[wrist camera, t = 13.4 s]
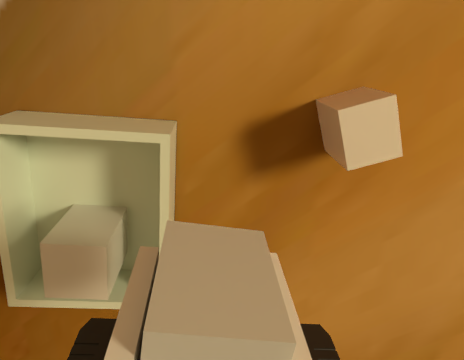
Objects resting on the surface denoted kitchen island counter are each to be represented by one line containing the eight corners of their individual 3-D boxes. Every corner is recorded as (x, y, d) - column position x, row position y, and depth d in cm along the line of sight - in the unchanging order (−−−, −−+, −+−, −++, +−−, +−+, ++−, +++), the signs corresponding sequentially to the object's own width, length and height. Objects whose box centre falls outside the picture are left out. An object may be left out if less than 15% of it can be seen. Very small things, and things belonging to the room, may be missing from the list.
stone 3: (370, 138, 28) (402, 156, 23) (324, 150, 28) (347, 170, 23) (363, 86, 27) (396, 94, 22) (315, 99, 27) (337, 110, 22)
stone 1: (127, 252, 30) (107, 300, 24) (76, 249, 29) (44, 297, 24) (127, 207, 28) (106, 246, 23) (73, 204, 28) (39, 243, 22)
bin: (172, 274, 31) (166, 310, 27) (36, 270, 30) (8, 306, 26) (176, 120, 27) (170, 134, 22) (17, 110, 26) (-21, 122, 22)
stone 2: (246, 308, 17) (266, 444, 11) (157, 300, 16) (132, 438, 11) (263, 231, 15) (296, 343, 10) (166, 220, 15) (142, 331, 9)
